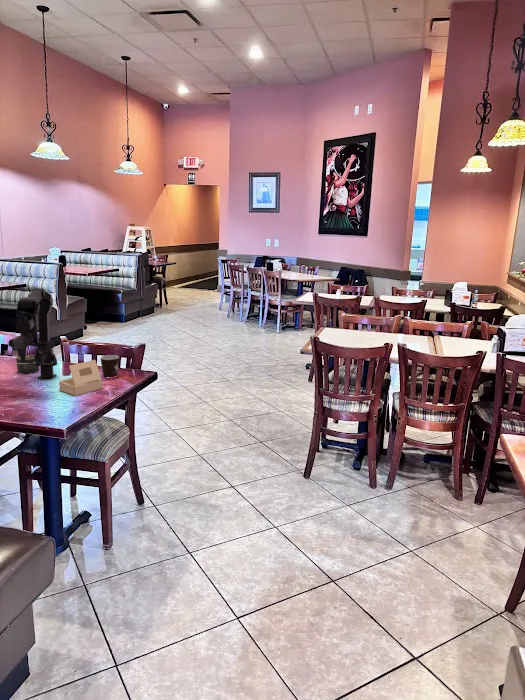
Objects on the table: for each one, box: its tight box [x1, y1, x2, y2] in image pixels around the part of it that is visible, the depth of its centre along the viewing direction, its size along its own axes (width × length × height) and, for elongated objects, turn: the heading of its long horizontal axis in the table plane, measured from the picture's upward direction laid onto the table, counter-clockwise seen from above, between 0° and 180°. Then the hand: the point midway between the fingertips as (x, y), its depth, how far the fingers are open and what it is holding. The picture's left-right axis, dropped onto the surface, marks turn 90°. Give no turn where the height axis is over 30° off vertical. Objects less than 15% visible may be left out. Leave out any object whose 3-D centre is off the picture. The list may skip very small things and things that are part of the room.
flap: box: [68, 359, 102, 385], centre depth 222 cm, size 1×13×9 cm, turn 144°
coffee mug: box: [100, 354, 120, 378], centre depth 246 cm, size 12×9×10 cm
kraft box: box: [58, 377, 104, 397], centre depth 226 cm, size 12×15×4 cm
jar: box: [15, 354, 40, 375], centre depth 248 cm, size 10×10×8 cm
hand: (32, 362), depth 216 cm, fingers open, 9 cm apart
